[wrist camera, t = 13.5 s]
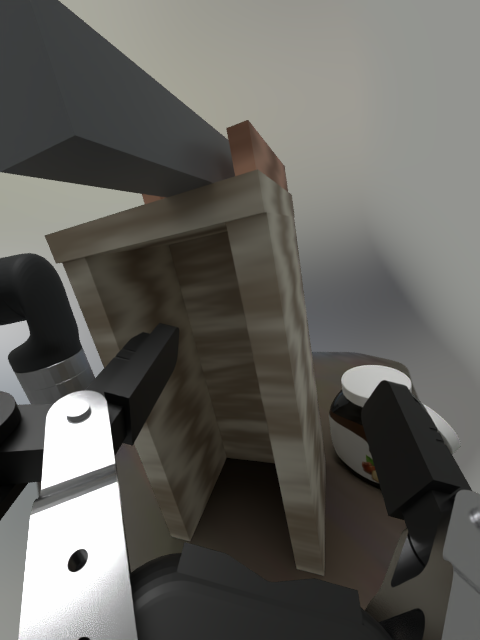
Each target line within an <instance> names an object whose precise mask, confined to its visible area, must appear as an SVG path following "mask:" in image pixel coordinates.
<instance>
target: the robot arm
mask: <svg viewBox="0 0 480 640" xmlns="http://www.w3.org/2000/svg"><path fill="white" fill-rule="evenodd" d="M25 320H27V323H28V326H29V330H30V337H29V338H28V340H27V341H26V342H25V343H23V344H22V345H20V346H19V347H17V348H15V349H14V350H12V351H11V352H10V354H9V355H8V360H9V363H10V365H11V366H12V369H13V371H14V372H15V374H16V376H17V378H18V380H19V382H20V384H21V386H22V388H23V390H24V391H25V393H26V395H27V397H28V399H29V401H30V403H31V404H29V405H17V404H16V402H15V399H14V397H13V396H12V395H10V394H9V393H5V392H1V391H0V520H1V518H2V517H3V516H4V515H5V513H6V512H7V511H8V509H9V508H10V507H11V505H12V504H13V503H14V501H15V500H16V498H17V497H18V496H19V495H20V493H21V492H22V491H23V489H24V488H25V486H26V485H27V484H28V483H30V482H40V481H42V485H41V493H40V496H39V498H38V499H36V500H35V501H34V503H33V506H32V510H31V516H30V525H29V535H28V545H27V556H26V566H25V577H24V587H23V599H22V608H21V619H20V630H19V640H480V494H478V493H476V492H473V491H472V490H471V488H470V486H469V484H468V482H467V481H466V479H465V477H464V475H463V474H462V472H461V470H460V468H459V466H458V465H457V463H456V461H455V459H454V458H453V456H452V454H451V452H450V450H449V448H448V447H447V445H446V444H444V440H443V438H442V436H441V434H440V432H438V431H437V430H438V429H437V427H436V425H435V423H434V422H433V420H432V418H431V416H430V415H429V414H428V413H427V412H426V411H425V410H424V409H423V407H422V406H421V405H420V404H419V403H418V402H415V400H414V398H413V396H412V394H411V392H410V390H409V389H408V387H407V386H405V385H402V384H398V383H394V382H390V381H386V380H383V381H381V382H380V383H379V384H378V386H377V387H376V388H375V390H374V391H373V393H372V394H371V396H370V397H369V398H368V400H367V401H366V403H365V404H364V406H363V408H362V412H361V420H362V424H363V428H364V431H365V435H366V438H367V442H368V445H369V449H370V452H371V456H372V459H373V463H374V466H375V470H376V474H377V477H378V481H379V484H380V488H381V491H382V495H383V498H384V502H385V505H386V509H387V512H388V516H391V517H395V518H399V519H402V520H405V523H406V526H407V528H406V529H404V530H403V532H402V533H401V536H400V538H399V541H398V544H397V546H396V549H395V552H394V554H393V557H392V560H391V562H390V565H389V568H388V570H387V573H386V576H385V578H384V581H383V584H382V586H381V588H380V590H379V591H378V593H377V594H376V595H375V596H374V598H373V599H372V600H371V601H370V603H369V604H368V606H367V608H366V609H365V611H364V610H363V609H362V608H361V607H360V602H359V596H358V591H357V590H354V589H350V588H347V587H343V586H339V585H336V584H332V583H329V582H325V581H322V580H318V579H315V578H314V579H304V580H293V581H283V582H269V581H266V580H265V579H263V578H262V577H260V576H259V575H257V574H256V573H254V572H253V571H251V570H250V569H248V568H247V567H245V566H244V565H242V564H241V563H239V562H238V561H236V560H235V559H233V558H232V557H231V556H229V555H228V554H226V553H222V552H218V551H215V550H211V549H208V548H204V547H201V546H197V545H194V544H190V543H186V542H185V543H184V546H183V550H182V553H176V554H169V555H165V556H161V557H159V558H156V559H154V560H151V561H149V562H147V563H146V564H144V565H142V566H140V567H139V568H137V569H136V570H134V571H133V572H132V573H131V571H130V563H129V556H128V548H127V541H126V534H125V527H124V520H123V512H122V505H121V497H120V490H119V482H118V475H117V467H116V460H115V455H116V453H117V451H118V450H119V448H120V446H121V445H122V443H125V444H129V445H133V444H134V442H135V440H136V438H137V437H138V435H139V433H140V431H141V429H142V428H143V426H144V424H145V422H146V420H147V418H148V417H149V415H150V413H151V411H152V409H153V407H154V406H155V404H156V402H157V400H158V398H159V397H160V395H161V393H162V391H163V389H164V387H165V386H166V384H167V382H168V380H169V378H170V376H171V375H172V373H173V371H174V369H175V366H176V362H177V358H178V345H179V328H178V327H175V326H171V325H167V324H163V323H159V324H158V325H157V326H156V327H155V328H154V330H153V331H152V332H151V333H150V334H149V333H145V332H142V333H140V334H138V335H136V336H135V337H133V338H131V339H130V340H129V341H128V342H127V343H126V344H125V346H124V347H123V349H122V350H120V351H119V352H118V353H117V355H116V357H115V358H113V359H112V360H111V361H110V362H109V364H108V365H107V366H106V367H105V368H104V369H103V370H102V371H101V373H100V374H99V375H98V376H97V377H96V378H95V377H94V374H93V372H92V370H91V367H90V365H89V362H88V360H87V357H86V355H85V353H84V350H83V348H82V346H81V343H80V340H79V333H78V327H77V324H76V321H75V318H74V316H73V312H72V310H71V307H70V304H69V301H68V298H67V295H66V292H65V289H64V286H63V283H62V281H61V279H60V277H59V275H58V273H57V272H56V270H55V269H54V267H53V266H52V265H51V264H50V263H49V262H48V261H47V260H46V259H45V258H43V257H41V256H39V255H36V254H31V253H28V254H19V255H14V256H10V257H5V258H0V325H6V324H11V323H15V322H20V321H25Z"/></svg>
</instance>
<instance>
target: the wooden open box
mask: <svg viewBox="0 0 480 640" xmlns="http://www.w3.org/2000/svg"><path fill="white" fill-rule="evenodd" d="M227 134H228V140H229V145H230V150H231V156H232V161H233V167H234V172H235V176H234V177H231V178H228V179H225V180H222V181H218V182H215V183H212V184H209V185H206V186H202V187H199V188H196V189H193V190H189V191H186V192H183V193H180V194H177V195H173V196H170V197H167V198H166V197H160V196H153V195H147V194H142V196H143V199H144V202H145V204H144V205H141V206H138V207H135V208H132V209H129V210H125V211H122V212H119V213H116V214H112V215H109V216H106V217H103V218H99V219H97V220H93V221H90V222H87V223H83V224H80V225H77V226H74V227H71V228H68V229H64V230H61V231H58V232H55V233H52V234H48V235H45V238H46V240H47V242H48V245H49V247H50V250H51V252H52V255H53V257H54V260H55V262H56V263H63V266H64V268H65V271H66V273H67V276H68V278H69V281H70V283H71V285H72V288H73V291H74V293H75V296H76V298H77V301H78V303H79V306H80V308H81V311H82V313H83V316H84V318H85V321H86V323H87V326H88V328H89V331H90V333H91V336H92V338H93V341H94V343H95V346H96V348H97V351H98V353H99V356H100V358H101V361H102V364H103V366H104V368H105V367H106V366H107V365H108V364H109V362H110V361H111V360H112V359H113V358H115V357H116V355H117V353H118V352H119V351H120V350H122V349H123V347H124V346H125V344H126V343H127V342H128V341H129V340H130V339H131V338H133V337H135V336H136V335H138V334H140V333H142V332H145V333H149V334H150V333H151V332H152V331H153V330H154V328H155V327H156V326H157V325H158V324H159V323H163V324H167V325H171V326H175V327H178V328H179V345H178V358H177V362H176V366H175V369H174V371H173V373H172V375H171V376H170V378H169V380H168V382H167V384H166V386H165V387H164V389H163V391H162V393H161V395H160V397H159V398H158V400H157V402H156V404H155V406H154V407H153V409H152V411H151V413H150V415H149V417H148V418H147V420H146V422H145V424H144V426H143V428H142V429H141V431H140V433H139V435H138V437H137V438H136V440H135V442H134V444H135V446H136V449H137V451H138V454H139V456H140V459H141V461H142V464H143V466H144V469H145V472H146V474H147V477H148V479H149V482H150V484H151V487H152V489H153V492H154V494H155V497H156V499H157V502H158V504H159V507H160V509H161V512H162V514H163V517H164V519H165V522H166V524H167V527H168V529H169V532H170V534H171V537H175V538H179V539H182V540H186V541H191V539H192V536H193V534H194V532H195V530H196V527H197V525H198V523H199V520H200V518H201V516H202V513H203V511H204V509H205V506H206V504H207V502H208V500H209V497H210V495H211V493H212V490H213V488H214V486H215V483H216V481H217V479H218V477H219V474H220V472H221V470H222V467H223V465H224V463H225V460H226V458H234V459H243V460H252V461H260V462H269V463H275V466H276V470H277V475H278V480H279V485H280V490H281V495H282V500H283V505H284V510H285V514H286V519H287V524H288V529H289V534H290V539H291V544H292V549H293V553H294V558H295V563H296V568H297V569H299V570H303V571H307V572H310V573H314V574H318V575H322V576H324V569H325V488H326V459H325V452H324V444H323V436H322V429H321V421H320V413H319V406H318V398H317V390H316V383H315V375H314V367H313V360H312V352H311V344H310V338H309V329H308V322H307V314H306V306H305V299H304V291H303V283H302V275H301V268H300V260H299V252H298V245H297V237H296V229H295V222H294V209H293V201H292V195H291V194H290V193H288V189H287V181H286V174H285V166H284V165H283V164H282V162H281V161H280V160H279V159H278V158H277V156H276V155H275V154H274V152H273V151H272V150H271V148H270V147H269V146H268V145H267V143H266V142H265V141H264V140H263V138H262V137H261V136H260V135H259V133H258V132H257V131H256V130H255V128H254V127H253V126H252V124H251V123H250V122H249V121H248V120H246V121H244V122H241V123H239V124H236V125H234V126H231V127H228V128H227Z"/></svg>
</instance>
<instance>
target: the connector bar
mask: <svg viewBox="0 0 480 640" xmlns="http://www.w3.org/2000/svg"><path fill="white" fill-rule="evenodd" d="M0 172H4V173H10V174H17V175H23V176H30V177H37V178H43V179H49V180H56V181H63V182H69V183H75V184H82V185H88V186H95V187H101V188H108V189H115V190H121V191H127V192H134V193H140V194H147V195H153V196H160V197H166V198H167V197H170V196H173V195H177V194H180V193H183V192H186V191H189V190H193V189H196V188H199V187H202V186H206V185H209V184H212V183H215V182H218V181H222V180H225V179H228V178H231V177H234V176H235V172H234V167H233V161H232V156H231V150H230V145H229V140H228V139H226V138H225V137H224V136H223V135H222V134H220V133H219V132H218V131H217V130H215V129H214V128H213V127H212V126H211V125H209V124H208V123H207V122H206V121H204V120H203V119H202V118H201V117H200V116H198V115H197V114H196V113H195V112H193V111H192V110H191V109H190V108H189V107H187V106H186V105H185V104H184V103H183V102H181V101H180V100H179V99H178V98H177V97H175V96H174V95H173V94H171V93H170V92H169V91H168V90H167V89H166V88H164V87H163V86H162V85H161V84H159V83H158V82H157V81H155V79H153V78H152V77H151V76H150V75H148V74H147V73H146V72H145V71H144V70H142V69H141V68H140V67H139V66H137V65H136V64H135V63H134V62H133V61H131V60H130V59H129V58H128V57H127V56H125V55H124V54H123V53H122V52H120V51H119V50H118V49H117V48H116V47H114V46H113V45H112V44H111V43H110V42H108V41H107V40H106V39H105V38H103V37H102V36H101V35H100V34H99V33H97V32H96V31H95V30H94V29H92V28H91V27H90V26H89V25H88V24H86V23H85V22H84V21H83V20H82V19H80V18H79V17H78V16H77V15H75V14H74V13H73V12H72V11H70V10H69V9H68V8H67V7H66V6H64V5H63V4H62V3H61V2H60V1H58V0H0Z"/></svg>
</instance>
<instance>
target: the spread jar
mask: <svg viewBox="0 0 480 640" xmlns="http://www.w3.org/2000/svg"><path fill="white" fill-rule="evenodd" d="M341 380H342V390H341V391H340V392H339V393H338V394H337V395H336V397H335V398H334V400H333V402H332V404H331V408H330V412H329V421H330V431H331V438H332V443H333V446H334V449H335V451H336V453H337V455H338V456H339V458H340V459H341V460H342V461H343V463H344V464H345V465H346V466H347V467H348V468H349V469H350V470H351V471H352V472H353V473H354V474H356V475H357V476H358V477H360V478H361V479H363V480H364V481H366V482H368V483H370V484H372V485H375V486H378V487H380V484H379V481H378V477H377V474H376V470H375V466H374V463H373V459H372V456H371V452H370V449H369V445H368V442H367V438H366V435H365V431H364V428H363V424H362V420H361V412H362V408H363V406H364V404H365V403H366V401H367V400H368V398H369V397H370V396H371V394H372V393H373V391H374V390H375V388H376V387H377V386H378V384H379V383H380V382H381V381H383V380H386V381H390V382H394V383H398V384H402V385H405V386H407V387H408V389H409V390H410V392H411V381H410V379H409V378H408V377H407V376H406V375H405V374H403V373H402V372H400V371H398V370H396V369H393V368H390V367H386V366H379V365H365V366H358V367H355V368H352V369H350V370H348V371H347V372H345V373H344V374H343V376H342V379H341ZM412 396H413V398H414V400H415V402H418V403H419V404H420V405H421V406H422V407H423V409H424V410H425V411H426V412H427V413H428V414H429V415H430V416H431V418H432V420H433V422H434V423H435V425H436V427H437V429H438V430H437V431H438V432H440V434H441V436H442V438H443V440H444V444H446V445H447V447H448V448H449V450H450V452H451V454H453V453H455V452H456V451H457V450H458V449H459V448H460V447H461V443H460V439H459V437H458V436H457V434H456V433H455V431H454V430H453V429H452V427H451V426H450V425H449V424H448V423H447V422H446V421H445V420H444V419H443V418H442V417H441V416H440V415H438V414H437V413H436V412H434V411H433V410H432V409H430V408H429V407H427V406H426V405H424V404H422V403H421V402H420V401H419V400H418V399H417V398H416V397H415V396H414V395H413V394H412Z"/></svg>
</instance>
